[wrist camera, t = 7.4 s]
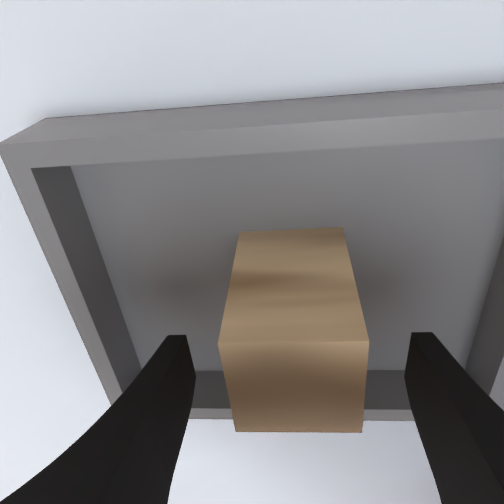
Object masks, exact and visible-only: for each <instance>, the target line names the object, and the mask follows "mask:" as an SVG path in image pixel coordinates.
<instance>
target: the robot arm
mask: <svg viewBox="0 0 504 504" xmlns="http://www.w3.org/2000/svg"><path fill="white" fill-rule="evenodd" d="M404 379H405V384H406V389H407V394H408V398H409V403H410V407H411V411H412V414H413V417H414V420H415V423H416V426H417V429H418V432H419V435H420V437H421V440H422V443H423V446H424V449H425V452H426V455H427V458H428V461H429V464H430V467H431V470H432V472H433V475H434V478H435V481H436V485H437V488H438V491H439V495H440V498H441V503H442V504H504V410H503V409H502V408H501V407H499V406H498V405H497V404H496V403H495V402H494V401H493V400H492V398H491V397H490V396H489V395H488V394H487V393H486V392H485V391H484V390H483V389H482V388H481V387H480V386H479V385H478V384H477V383H476V382H475V381H474V379H473V378H472V377H471V376H470V375H469V374H468V373H467V372H466V371H465V370H464V368H463V367H462V366H461V365H460V364H459V363H458V362H457V360H456V359H455V358H454V357H453V356H452V355H451V353H450V352H449V351H448V350H447V349H446V347H445V346H444V345H443V344H442V343H441V341H440V340H439V339H438V338H437V337H436V335H435V334H434V333H433V332H411V338H410V344H409V350H408V356H407V362H406V368H405V374H404ZM195 382H196V373H195V369H194V365H193V361H192V357H191V353H190V349H189V345H188V341H187V336H186V335H168V336H167V337H166V338H165V339H164V341H163V342H162V343H161V345H160V346H159V347H158V349H157V350H156V351H155V353H154V354H153V355H152V357H151V358H150V359H149V361H148V362H147V363H146V365H145V366H144V367H143V369H142V370H141V371H140V372H139V373H138V375H137V376H136V377H135V378H134V380H133V381H132V382H131V383H130V385H129V386H128V387H127V388H126V389H125V391H124V392H123V393H122V394H121V395H120V396H119V397H118V399H117V400H116V401H115V402H114V403H113V404H112V405H111V407H110V408H109V409H108V410H107V411H106V412H105V413H104V414H103V415H102V416H101V417H100V418H99V419H98V420H97V421H96V422H95V423H94V424H93V425H92V426H91V427H90V428H89V429H88V430H87V431H86V432H85V433H84V434H83V435H82V436H81V437H80V438H79V439H78V440H77V441H76V442H75V443H74V444H72V445H71V446H70V447H69V448H68V449H67V450H66V451H65V452H64V453H62V454H61V455H60V456H59V457H58V458H57V459H56V460H54V461H53V462H52V463H51V464H50V465H48V466H47V467H46V468H44V469H43V470H42V471H41V472H39V473H38V474H37V475H36V476H34V477H33V478H32V479H31V480H29V481H28V482H27V483H25V484H24V485H23V486H21V487H20V488H19V489H17V490H16V491H15V492H13V493H12V494H11V495H9V496H8V497H6V498H5V499H3V500H2V501H0V504H167V502H168V497H169V491H170V486H171V482H172V478H173V473H174V470H175V466H176V462H177V459H178V455H179V451H180V448H181V444H182V441H183V437H184V433H185V430H186V426H187V422H188V419H189V415H190V411H191V407H192V402H193V396H194V389H195Z"/></svg>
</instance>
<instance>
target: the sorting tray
mask: <svg viewBox="0 0 504 504" xmlns="http://www.w3.org/2000/svg"><path fill="white" fill-rule="evenodd" d="M0 155H1V158H2V160H3V162H4V164H5V167H6V169H7V171H8V173H9V176H10V178H11V180H12V182H13V185H14V187H15V189H16V191H17V194H18V196H19V198H20V200H21V203H22V205H23V207H24V210H25V212H26V214H27V216H28V219H29V221H30V223H31V225H32V228H33V230H34V232H35V234H36V237H37V239H38V241H39V243H40V246H41V248H42V250H43V252H44V255H45V257H46V259H47V261H48V264H49V266H50V268H51V270H52V273H53V275H54V277H55V279H56V282H57V284H58V286H59V289H60V291H61V293H62V295H63V298H64V300H65V302H66V304H67V307H68V309H69V311H70V313H71V316H72V318H73V320H74V322H75V325H76V327H77V329H78V331H79V334H80V336H81V338H82V340H83V343H84V345H85V347H86V349H87V352H88V354H89V356H90V358H91V361H92V363H93V365H94V367H95V370H96V372H97V374H98V377H99V379H100V381H101V383H102V386H103V388H104V390H105V392H106V395H107V397H108V399H109V401H110V404H111V405H112V404H113V403H114V402H115V401H116V400H117V399H118V397H119V396H120V395H121V394H122V393H123V392H124V391H125V389H126V388H127V387H128V386H129V385H130V383H131V382H132V381H133V380H134V378H135V377H136V376H137V375H138V373H139V372H140V371H141V370H142V369H143V367H144V366H145V365H146V363H147V362H148V361H149V359H150V358H151V357H152V355H153V354H154V353H155V351H156V350H157V349H158V347H159V346H160V345H161V343H162V342H163V341H164V339H165V338H166V337H167V336H168V335H186V336H187V341H188V345H189V349H190V353H191V357H192V361H193V365H194V369H195V373H196V382H195V389H194V396H193V402H192V407H191V411H190V415H189V419H233V416H232V411H231V406H230V401H229V396H228V391H227V387H226V382H225V377H224V372H223V367H222V362H221V357H220V352H219V347H218V340H219V335H220V330H221V325H222V320H223V314H224V309H225V304H226V299H227V294H228V289H229V283H230V278H231V273H232V268H233V263H234V258H235V252H236V247H237V242H238V237H239V232H252V231H271V230H291V229H310V228H330V227H343V232H344V236H345V240H346V244H347V249H348V253H349V257H350V261H351V266H352V270H353V274H354V278H355V283H356V287H357V291H358V295H359V299H360V304H361V308H362V312H363V316H364V321H365V325H366V329H367V333H368V338H369V351H368V363H367V376H366V388H365V401H364V413H363V420H371V421H415V420H414V417H413V414H412V411H411V407H410V403H409V398H408V394H407V389H406V384H405V379H404V374H405V368H406V362H407V356H408V350H409V344H410V338H411V332H433V333H434V334H435V335H436V337H437V338H438V339H439V340H440V341H441V343H442V344H443V345H444V346H445V347H446V349H447V350H448V351H449V352H450V353H451V355H452V356H453V357H454V358H455V359H456V360H457V362H458V363H459V364H460V365H461V366H462V367H463V368H464V370H465V371H466V372H467V373H468V374H469V375H470V376H471V377H472V378H473V379H474V381H475V382H476V383H477V384H478V385H479V386H480V387H481V388H482V389H483V390H484V391H485V392H486V393H487V394H488V395H489V396H490V397H491V398H492V400H493V401H494V402H495V403H496V404H497V405H498V406H499V407H501V408H502V409H503V410H504V83H495V84H482V85H469V86H456V87H443V88H430V89H418V90H405V91H392V92H379V93H366V94H353V95H340V96H328V97H315V98H302V99H289V100H276V101H263V102H250V103H238V104H225V105H212V106H199V107H186V108H173V109H160V110H148V111H135V112H122V113H109V114H96V115H83V116H70V117H58V118H45V119H43V120H41V121H40V122H38V123H36V124H34V125H32V126H30V127H28V128H26V129H25V130H23V131H21V132H19V133H17V134H15V135H13V136H11V137H10V138H8V139H6V140H4V141H2V142H0Z"/></svg>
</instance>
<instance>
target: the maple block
mask: <svg viewBox="0 0 504 504" xmlns="http://www.w3.org/2000/svg"><path fill="white" fill-rule="evenodd" d="M218 347H219V352H220V357H221V362H222V367H223V372H224V377H225V382H226V387H227V391H228V396H229V401H230V406H231V411H232V416H233V421H234V426H235V431H236V432H341V433H362V426H363V413H364V401H365V388H366V376H367V363H368V351H369V338H368V333H367V329H366V325H365V321H364V316H363V312H362V308H361V304H360V299H359V295H358V291H357V287H356V283H355V278H354V274H353V270H352V266H351V261H350V257H349V253H348V249H347V244H346V240H345V236H344V232H343V227H330V228H310V229H291V230H271V231H252V232H239V237H238V242H237V247H236V252H235V258H234V263H233V268H232V273H231V278H230V283H229V289H228V294H227V299H226V304H225V309H224V314H223V320H222V325H221V330H220V335H219V340H218Z"/></svg>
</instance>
